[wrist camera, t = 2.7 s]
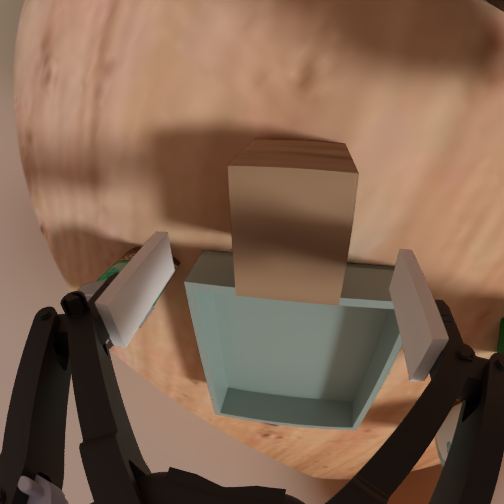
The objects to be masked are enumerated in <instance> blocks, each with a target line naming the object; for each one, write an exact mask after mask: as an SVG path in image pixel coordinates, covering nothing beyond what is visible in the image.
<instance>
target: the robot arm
mask: <svg viewBox="0 0 504 504" xmlns="http://www.w3.org/2000/svg"><path fill="white" fill-rule="evenodd" d="M488 1H489V2H490V3H492V4H493V5H495V6H496V7H498V8H500V9H501V10H503V11H504V0H488ZM174 271H175V269H174V264H173V259H172V254H171V248H170V243H169V237H168V232H157V231H156V232H155V233H154V235H153V236H152V237H151V238H150V239H149V240H148V241H147V242H146V243H145V244H144V246H143V247H142V248H141V249H140V250H139V251H138V252H137V253H136V254H135V256H134V257H133V258H132V259H131V260H130V261H129V262H128V264H127V265H126V266H125V267H124V268H123V269H122V271H121V272H120V273H118V272H116V273H114V274H113V275H111V276H110V277H108V278H107V280H106V281H105V282H104V283H103V285H101V287H100V288H99V289H98V290H97V291H96V292H95V294H94V295H93V296H92V297H91V298H90V300H89V301H88V302H87V299H86V297H85V295H84V293H83V292H81V291H74V292H71V293H68V294H67V295H66V296H64V297H63V299H62V300H61V306H62V308H63V310H64V312H65V314H57V312H56V310H55V309H54V308H53V307H45V308H42V309H41V310H40V311H38V313H37V314H36V316H35V318H34V320H33V323H32V326H31V329H30V332H29V335H28V338H27V341H26V344H25V347H24V350H23V354H22V357H21V361H20V364H19V368H18V371H17V375H16V379H15V383H14V387H13V391H12V396H11V400H10V405H9V410H8V415H7V421H6V427H5V433H4V440H3V447H2V452H1V454H0V504H68V501H67V500H66V499H65V495H64V494H63V492H62V486H63V479H64V449H65V429H66V428H65V427H66V415H67V404H68V394H69V386H70V379H71V374H72V381H73V388H74V395H75V401H76V407H77V412H78V418H79V422H80V427H81V432H82V436H83V442H82V443H80V446H79V449H80V454H81V458H82V462H83V466H84V470H85V473H86V476H87V480H88V484H89V487H90V490H91V493H92V496H93V499H94V502H93V503H91V504H305V503H304V502H302V501H300V500H299V499H297V498H295V497H293V496H290V495H287V494H285V492H286V489H278V488H269V487H261V486H246V487H222V486H220V485H218V484H215V483H213V482H211V481H209V480H207V479H205V478H203V477H201V476H199V475H197V474H194V473H190V472H186V471H182V470H179V469H175V468H172V467H170V468H169V471H168V472H158V473H151V471H150V469H149V468H148V466H147V465H146V463H145V461H144V460H143V457H142V455H141V452H140V450H139V447H138V444H137V442H136V439H135V436H134V434H133V431H132V428H131V425H130V422H129V419H128V416H127V413H126V410H125V407H124V404H123V400H122V397H121V394H120V390H119V387H118V384H117V380H116V376H115V372H114V369H113V365H112V361H111V357H110V353H109V348H108V345H107V343H106V341H107V340H108V338H109V337H110V339H111V341H112V343H113V345H115V346H119V347H123V348H126V347H127V346H128V344H129V342H130V341H131V339H132V337H133V336H134V334H135V333H136V331H137V329H138V328H139V326H140V324H141V323H142V321H143V320H144V318H145V316H146V315H147V313H148V312H149V310H150V309H151V307H152V305H153V304H154V302H155V301H156V299H157V298H158V296H159V294H160V293H161V291H162V290H163V288H164V287H165V285H166V284H167V282H168V281H169V279H170V278H171V276H172V274H173V273H174ZM389 291H390V295H391V299H392V303H393V306H394V310H395V314H396V319H397V323H398V327H399V331H400V336H401V340H402V345H403V350H404V354H405V359H406V365H407V370H408V375H409V381H425V379H426V378H427V376H428V374H429V373H430V377H431V381H430V383H429V384H428V386H427V387H426V389H425V390H424V392H423V393H422V395H421V396H420V397H419V399H418V400H417V402H416V403H415V405H414V406H413V407H412V409H411V410H410V411H409V413H408V414H407V415H406V417H405V418H404V419H403V421H402V422H401V423H400V425H399V426H398V427H397V428H396V430H395V431H394V432H393V433H392V435H391V436H390V437H389V438H388V439H387V441H386V442H385V443H384V444H383V445H382V446H381V448H380V449H379V450H378V451H377V452H376V453H375V454H374V456H373V457H372V458H371V459H370V460H369V461H368V462H367V463H366V464H365V465H364V466H363V467H362V469H361V470H360V471H359V472H358V473H357V474H356V475H355V476H354V477H353V478H352V479H351V480H350V481H349V482H348V483H347V484H346V485H345V486H344V487H343V488H342V489H340V490H339V492H338V493H336V494H335V495H334V496H333V497H332V498H331V499H330V500H328V502H326V503H325V504H387V502H388V500H389V497H390V496H391V494H392V493H393V492H394V491H395V490H396V489H397V487H398V486H399V485H400V484H401V483H402V481H403V480H404V479H405V478H406V476H407V475H408V474H409V472H410V471H411V470H412V468H413V467H414V466H415V464H416V463H417V462H418V460H419V459H420V457H421V456H422V455H423V453H424V452H425V450H426V449H427V447H428V446H429V444H430V443H431V441H432V440H433V438H434V437H435V435H436V434H437V432H438V431H439V429H440V427H441V426H442V424H443V422H444V421H445V419H446V417H447V416H448V414H449V412H450V410H451V409H452V407H453V405H454V403H455V401H456V400H457V399H461V400H463V401H462V406H461V410H460V414H459V418H458V422H457V426H456V429H455V433H454V436H453V440H452V443H451V446H450V449H449V453H448V456H447V459H446V461H445V464H444V467H443V470H442V473H441V475H440V478H439V481H438V483H437V486H436V488H435V491H434V493H433V495H432V497H431V500H430V502H429V504H490V503H491V500H492V497H493V493H494V490H495V486H496V483H497V479H498V475H499V471H500V467H501V462H502V457H503V453H504V354H502V353H494V354H493V355H492V356H491V357H490V359H485V358H481V357H477V356H476V355H475V352H474V351H473V349H472V348H471V347H470V346H468V345H466V344H464V343H463V341H462V338H461V336H460V333H459V331H458V328H457V325H456V323H455V321H454V318H453V316H452V313H451V311H450V309H449V307H448V306H447V305H446V303H445V302H444V301H443V300H434V298H433V296H432V293H431V291H430V288H429V286H428V284H427V282H426V279H425V277H424V275H423V272H422V270H421V268H420V266H419V264H418V262H417V259H416V257H415V255H414V253H413V251H412V250H406V249H399V254H398V258H397V261H396V265H395V269H394V273H393V276H392V280H391V284H390V287H389Z"/></svg>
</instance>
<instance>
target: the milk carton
mask: <svg viewBox="0 0 504 504" xmlns="http://www.w3.org/2000/svg"><path fill="white" fill-rule="evenodd" d="M497 353H502V354H504V318H503V319H501V325H500V334H499V342H498V348H497Z"/></svg>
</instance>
